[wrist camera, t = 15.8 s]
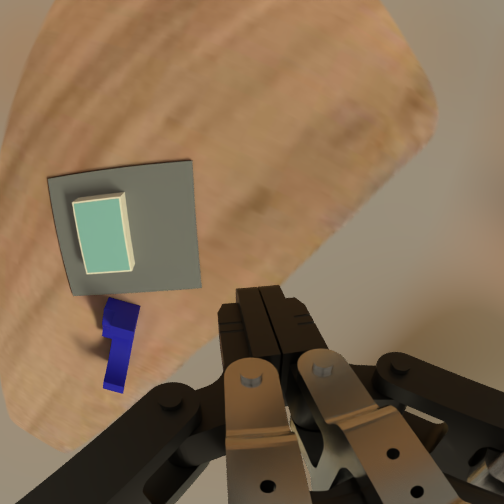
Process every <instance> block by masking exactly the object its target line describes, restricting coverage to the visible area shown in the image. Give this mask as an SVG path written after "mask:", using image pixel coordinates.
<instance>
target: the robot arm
mask: <svg viewBox="0 0 504 504" xmlns="http://www.w3.org/2000/svg"><path fill="white" fill-rule="evenodd" d="M218 326H219V339H220V349H221V357H222V365H223V373H222V375H221V376H220V378H219V379H218V380H217V381H215V382H214V383H213V384H211V385H209V386H207V387H204V388H201V389H198V390H194V389H193V388H191V387H190V386H188V385H185V384H182V383H177V382H170V383H164V384H161V385H158V386H156V387H154V388H153V389H151V390H150V391H149V392H148V393H147V394H146V395H145V396H143V397H142V398H141V399H140V400H139V401H138V402H137V403H136V404H134V405H133V406H132V407H131V408H130V409H129V410H128V411H126V412H125V413H124V414H123V415H122V416H121V417H119V418H118V419H117V420H116V421H115V422H114V423H113V424H111V425H110V426H109V427H108V428H107V429H106V430H104V431H103V432H102V433H101V434H100V435H99V436H97V437H96V438H95V439H94V440H93V441H92V442H90V443H89V444H88V445H87V446H86V447H84V448H83V449H82V450H81V451H80V452H78V453H77V454H76V455H75V456H74V457H72V458H71V459H70V460H69V461H68V462H66V463H65V464H64V465H63V466H62V467H60V468H59V469H58V470H57V471H56V472H54V473H53V474H52V475H51V476H49V477H48V478H47V479H46V480H44V481H43V482H42V483H41V484H39V485H38V486H37V487H36V488H35V489H33V490H32V491H31V492H29V493H28V494H27V495H26V496H24V497H23V498H22V499H21V500H19V501H18V502H17V503H15V504H175V503H176V502H177V501H178V500H179V498H180V497H181V496H182V495H183V494H184V493H185V492H186V490H187V489H188V488H189V487H190V486H191V485H192V484H193V482H194V481H195V480H196V479H197V478H198V477H199V475H200V474H201V473H202V472H203V471H204V469H205V468H206V467H207V466H208V464H209V462H210V461H211V460H214V459H217V458H219V457H222V456H225V455H226V468H227V487H228V504H504V392H502V391H499V390H496V389H494V388H491V387H488V386H486V385H483V384H480V383H478V382H475V381H472V380H470V379H467V378H465V377H462V376H460V375H457V374H455V373H452V372H449V371H447V370H444V369H442V368H440V367H437V366H434V365H432V364H430V363H427V362H425V361H422V360H420V359H417V358H415V357H412V356H410V355H408V354H405V353H401V352H391V353H387V354H384V355H383V356H381V357H380V358H379V359H378V361H377V364H376V366H367V365H353V364H348V362H347V361H346V359H345V358H344V357H343V356H342V355H341V354H339V353H337V352H335V351H332V350H329V349H328V347H327V345H326V343H325V341H324V339H323V337H322V336H321V334H320V332H319V330H318V328H317V326H316V324H315V323H314V321H313V319H312V317H311V316H310V313H309V312H308V310H307V308H306V306H305V305H304V304H303V303H301V302H300V301H299V300H298V299H296V298H295V297H294V298H285V297H284V294H283V292H282V290H281V288H280V286H279V285H273V286H262V287H258V288H257V287H251V288H238V289H236V303H229V304H222V306H221V308H220V310H219V311H218ZM285 406H288V407H289V410H290V413H291V416H290V428H291V430H292V432H291V430H290V428H289V423H288V418H287V413H286V409H285ZM407 406H409V407H412V408H414V409H416V410H419V411H421V412H423V413H426V414H428V415H431V416H433V417H435V418H438V419H440V420H442V421H444V423H441V424H435V423H432V422H430V421H427V420H425V419H423V418H420V417H418V416H416V415H414V414H411V413H409V412H407V411H405V409H406V407H407ZM301 454H302V456H303V459H304V461H305V463H306V466H307V468H308V470H309V473H310V477H311V487H312V491H309V487H308V483H307V478H306V474H305V469H304V465H303V461H302V456H301Z"/></svg>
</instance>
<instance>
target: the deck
mask: <svg viewBox="0 0 504 504" xmlns="http://www.w3.org/2000/svg"><path fill="white" fill-rule="evenodd" d="M72 206H73V212H74V217H75V223H76V228H77V234H78V239H79V243H80V248H81V253H82V257H83V261H84V266H85V270H86V274H100V273H115V272H129V271H132V270H133V267H134V265H135V260H134V254H133V248H132V242H131V235H130V228H129V221H128V214H127V206H126V198H125V192H120V193H111V194H103V195H95V196H87V197H80V198H77V199H76V200H75V201H73V202H72Z"/></svg>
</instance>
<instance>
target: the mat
mask: <svg viewBox="0 0 504 504" xmlns="http://www.w3.org/2000/svg"><path fill="white" fill-rule="evenodd" d="M48 184H49V191H50V197H51V203H52V209H53V214H54V220H55V225H56V230H57V234H58V239H59V244H60V248H61V252H62V256H63V260H64V264H65V268H66V272H67V276H68V279H69V283H70V287H71V290H72V293H73V296H83V295H103V294H121V293H138V292H153V291H168V290H182V289H195V288H202V285H201V274H200V264H199V252H198V240H197V228H196V214H195V200H194V183H193V165H192V161H180V162H168V163H157V164H147V165H138V166H129V167H121V168H113V169H106V170H98V171H91V172H85V173H78V174H72V175H66V176H60V177H55V178H49V179H48ZM120 192H125V198H126V206H127V214H128V221H129V228H130V235H131V242H132V248H133V254H134V260H135V265H134V267H133V270H132V271H129V272H115V273H100V274H86V270H85V266H84V261H83V257H82V253H81V248H80V243H79V239H78V234H77V228H76V223H75V217H74V212H73V206H72V202H73V201H75V200H76V199H77V198H80V197H87V196H95V195H103V194H111V193H120Z"/></svg>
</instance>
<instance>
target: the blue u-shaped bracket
mask: <svg viewBox="0 0 504 504" xmlns="http://www.w3.org/2000/svg"><path fill="white" fill-rule="evenodd" d="M139 310H140V306H139V305H135V304H132V303H128V302H125V301H121V300H118V299H114V298H111V297H109V298H108V301H107V303H106V305H105V308H104V314H103V321H102V325H103V333H102V336H103V337H107V338H110V339H112V343H111V349H110V354H109V359H108V364H107V369H106V374H105V378H104V383H103V388H104V389H107V390H111V391H115V392H118V393H122V394H123V391H124V385H125V380H126V375H127V370H128V365H129V359H130V354H131V348H132V343H133V338H134V333H135V329H136V324H137V319H138V314H139Z"/></svg>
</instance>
